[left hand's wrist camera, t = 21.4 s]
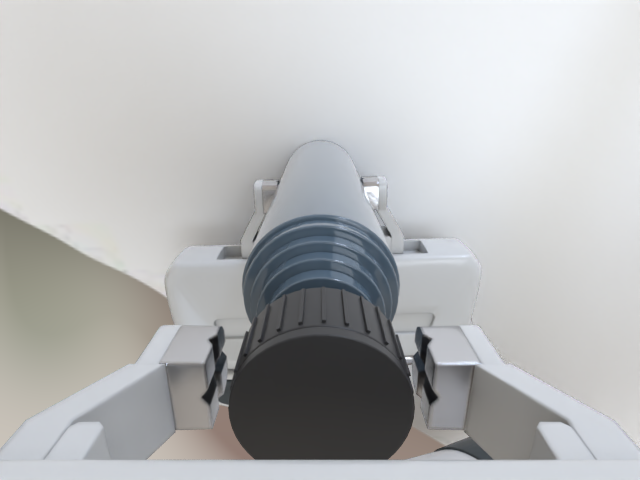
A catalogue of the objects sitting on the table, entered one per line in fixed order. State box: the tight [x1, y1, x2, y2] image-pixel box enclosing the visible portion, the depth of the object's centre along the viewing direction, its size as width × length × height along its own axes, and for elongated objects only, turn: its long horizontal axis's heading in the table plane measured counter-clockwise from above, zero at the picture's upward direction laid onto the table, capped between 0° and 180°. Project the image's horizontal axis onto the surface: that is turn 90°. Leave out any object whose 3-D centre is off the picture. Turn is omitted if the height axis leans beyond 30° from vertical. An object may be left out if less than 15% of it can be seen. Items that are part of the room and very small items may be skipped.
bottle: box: [242, 140, 400, 325], centre depth 20 cm, size 5×5×23 cm
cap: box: [228, 287, 415, 460], centre depth 9 cm, size 4×4×2 cm
